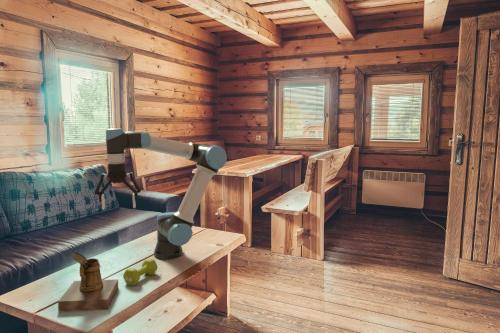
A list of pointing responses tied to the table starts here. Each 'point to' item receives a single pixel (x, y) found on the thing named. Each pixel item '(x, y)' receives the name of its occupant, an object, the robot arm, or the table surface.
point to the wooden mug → (89, 273)
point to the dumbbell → (140, 272)
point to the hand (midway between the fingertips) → (119, 208)
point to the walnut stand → (88, 297)
